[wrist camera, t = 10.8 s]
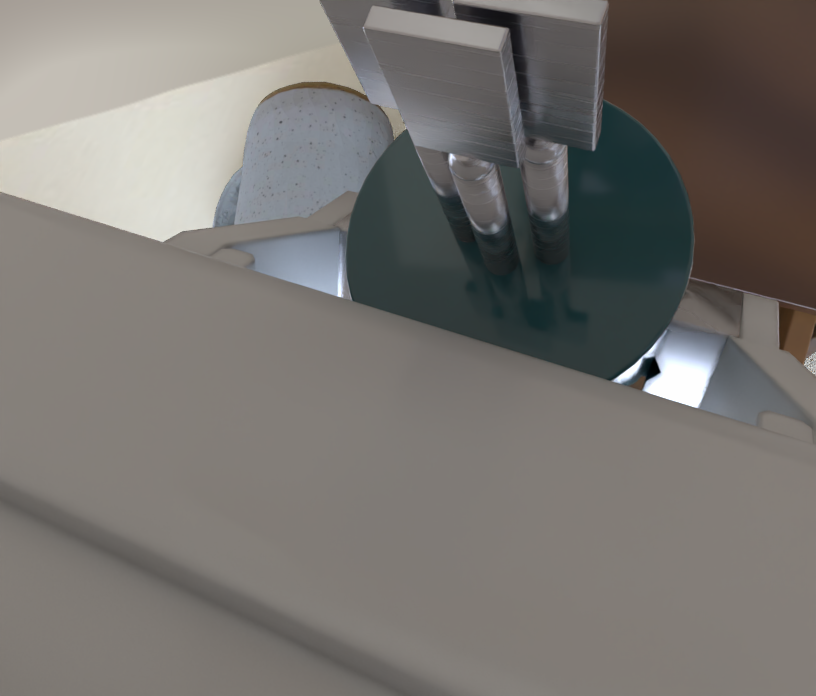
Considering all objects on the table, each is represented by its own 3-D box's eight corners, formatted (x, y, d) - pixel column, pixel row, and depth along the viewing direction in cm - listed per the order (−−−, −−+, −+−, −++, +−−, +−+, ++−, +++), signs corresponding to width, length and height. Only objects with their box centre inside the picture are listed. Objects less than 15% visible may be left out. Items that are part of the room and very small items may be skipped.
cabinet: (797, 365, 30) (861, 321, 23) (488, 279, 34) (466, 221, 28) (878, 78, 32) (958, -39, 25) (576, 30, 36) (576, -82, 30)
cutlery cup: (658, 316, 17) (898, -268, 4) (603, 489, 16) (692, 402, 4) (488, 269, 18) (287, -286, 6) (431, 428, 18) (59, 208, 5)
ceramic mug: (411, 142, 37) (367, 52, 30) (413, 289, 35) (367, 230, 28) (230, 168, 40) (149, 90, 32) (222, 306, 38) (135, 256, 30)
